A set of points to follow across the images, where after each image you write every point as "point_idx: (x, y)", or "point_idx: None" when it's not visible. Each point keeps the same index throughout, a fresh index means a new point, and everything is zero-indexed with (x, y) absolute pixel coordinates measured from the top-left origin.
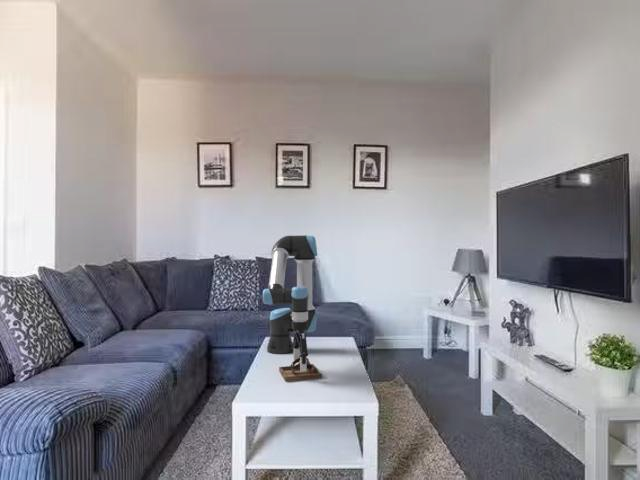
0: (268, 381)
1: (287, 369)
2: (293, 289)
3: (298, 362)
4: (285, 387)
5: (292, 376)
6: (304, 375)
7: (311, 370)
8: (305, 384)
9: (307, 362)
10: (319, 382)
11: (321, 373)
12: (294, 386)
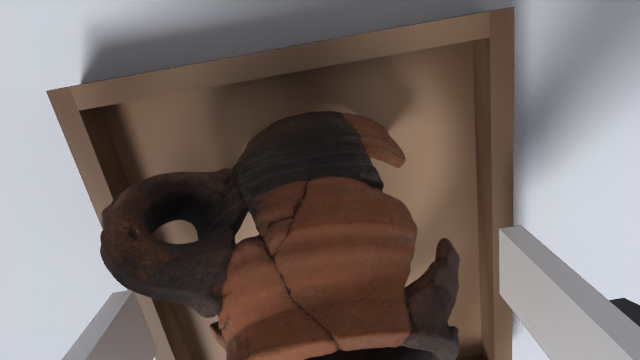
0: None
1: (189, 353)
2: None
3: (138, 303)
4: None
5: (504, 334)
6: (509, 226)
7: (390, 143)
8: (610, 203)
9: (399, 240)
10: (606, 57)
11: (492, 11)
12: (622, 292)
